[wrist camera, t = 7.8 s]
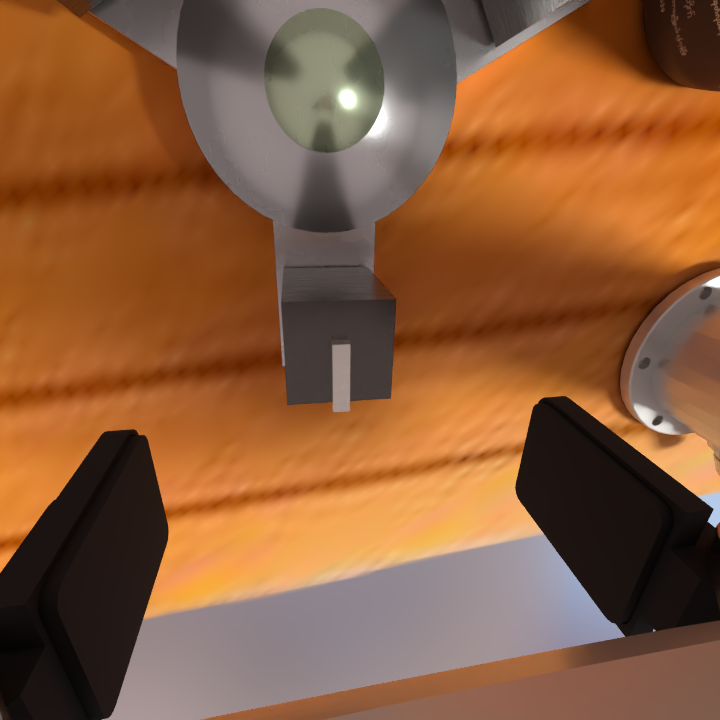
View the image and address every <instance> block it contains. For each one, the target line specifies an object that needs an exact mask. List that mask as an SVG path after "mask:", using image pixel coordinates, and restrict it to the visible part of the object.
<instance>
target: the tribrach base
mask: <svg viewBox="0 0 720 720" xmlns="http://www.w3.org/2000/svg"><path fill="white" fill-rule="evenodd" d="M589 1H590V0H572V1H570V2H569V3H567V4H565V5H564V6H562V7H561V8H559V9H557V10H556V11H554V12H553V13H551V14H549V15H548V16H546V17H545V18H543V19H541V20H540V21H538V22H537V23H535V24H533V25H532V26H530V27H529V28H527V29H525V30H524V31H522V32H520V33H519V34H517V35H516V36H514V37H512V38H511V39H509V40H508V41H506V42H504V43H503V44H501V45H500V46H498V47H495V43H494V40H493V37H492V34H491V30H490V27H489V24H488V20H487V17H486V14H485V10H484V7H483V4H482V1H481V0H103V1H102V2H101V3H99V4H98V5H96V6H95V7H94V8H92V9H91V10H89V11H88V13H89V14H91V15H92V16H94V17H96V18H97V19H99V20H100V21H102V22H103V23H105V24H106V25H108V26H109V27H111V28H112V29H114V30H115V31H117V32H118V33H120V34H121V35H123V36H124V37H126V38H128V39H129V40H131V41H132V42H134V43H135V44H137V45H138V46H140V47H141V48H143V49H144V50H146V51H147V52H149V53H150V54H152V55H153V56H155V57H156V58H158V59H159V60H161V61H163V62H164V63H166V64H167V65H169V66H170V67H172V68H173V69H175V70H176V71H177V74H178V83H179V88H180V93H181V98H182V103H183V106H184V110H185V113H186V116H187V119H188V122H189V125H190V127H191V130H192V132H193V134H194V137H195V139H196V141H197V143H198V145H199V147H200V149H201V151H202V152H203V154H204V156H205V157H206V159H207V161H208V163H209V164H210V165H211V167H212V168H213V169H214V171H215V172H216V173H217V175H218V176H219V178H220V179H221V180H222V181H223V182H224V183H225V184H226V185H227V186H228V187H229V189H230V190H231V191H232V192H233V193H234V194H235V195H237V196H238V197H239V198H240V199H241V200H242V201H244V202H245V203H246V204H247V205H248V206H250V207H251V208H253V209H254V210H256V211H257V212H259V213H260V214H262V215H264V216H266V217H268V218H270V219H272V220H273V232H274V247H275V261H276V276H277V291H278V306H279V321H280V336H281V351H282V366H285V357H284V341H283V326H282V310H281V295H282V282H283V269H284V268H331V267H368V268H369V269H370V270H371V271H372V273H373V274H374V249H375V222H376V221H378V220H380V219H382V218H384V217H386V216H387V215H389V214H390V213H392V212H393V211H394V210H396V209H397V208H399V207H400V206H401V205H402V204H403V203H405V202H406V201H407V200H408V199H409V198H410V197H411V196H412V195H413V194H414V193H415V192H416V191H417V189H418V188H419V187H420V186H421V185H422V184H423V182H424V181H425V179H426V178H427V176H428V175H429V173H430V172H431V170H432V169H433V167H434V165H435V163H436V161H437V159H438V157H439V156H440V154H441V152H442V149H443V146H444V144H445V141H446V138H447V136H448V133H449V129H450V125H451V121H452V117H453V112H454V106H455V99H456V84H457V83H458V82H460V81H462V80H463V79H465V78H466V77H468V76H470V75H471V74H473V73H474V72H476V71H478V70H479V69H481V68H483V67H484V66H486V65H487V64H489V63H491V62H492V61H494V60H495V59H497V58H499V57H500V56H502V55H503V54H505V53H507V52H508V51H510V50H511V49H513V48H515V47H516V46H518V45H519V44H521V43H523V42H524V41H526V40H528V39H529V38H531V37H532V36H534V35H536V34H537V33H539V32H540V31H542V30H544V29H545V28H547V27H548V26H550V25H552V24H553V23H555V22H556V21H558V20H560V19H561V18H563V17H564V16H566V15H568V14H569V13H571V12H573V11H574V10H576V9H577V8H579V7H581V6H582V5H584V4H585V3H587V2H589Z"/></svg>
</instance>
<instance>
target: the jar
mask: <svg viewBox="0 0 720 720" xmlns="http://www.w3.org/2000/svg"><path fill="white" fill-rule="evenodd" d="M643 16H644V27H645V33H646V38H647V41H648V44H649V47H650V50H651V52H652V54H653V56H654V58H655V60H656V62H657V63H658V65H659V66H660V68H661V69H662V70H663V71H664V73H665V74H666V75H667V76H668V77H670V78H671V79H672V80H674V81H675V82H677V83H679V84H681V85H683V86H686V87H689V88H694V89H701V90H709V91H720V0H644V4H643Z"/></svg>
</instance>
